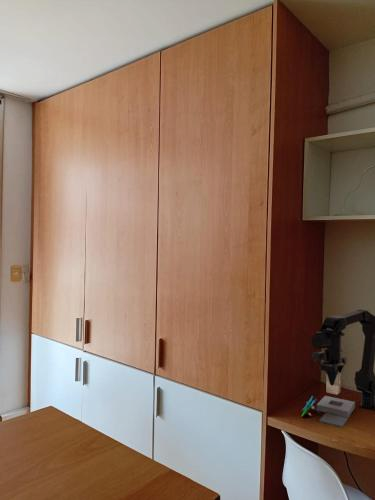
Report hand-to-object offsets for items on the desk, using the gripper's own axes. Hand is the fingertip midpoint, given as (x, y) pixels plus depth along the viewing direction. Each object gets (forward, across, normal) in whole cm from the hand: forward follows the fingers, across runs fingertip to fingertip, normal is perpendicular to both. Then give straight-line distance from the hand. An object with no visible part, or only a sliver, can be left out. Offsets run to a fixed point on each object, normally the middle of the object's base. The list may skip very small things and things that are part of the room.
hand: (333, 383), depth 161 cm
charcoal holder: (+13, -8, -1) cm, 16 cm away
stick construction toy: (+14, +4, -8) cm, 17 cm away
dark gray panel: (+14, +5, +2) cm, 14 cm away
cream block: (+4, 0, 0) cm, 4 cm away
